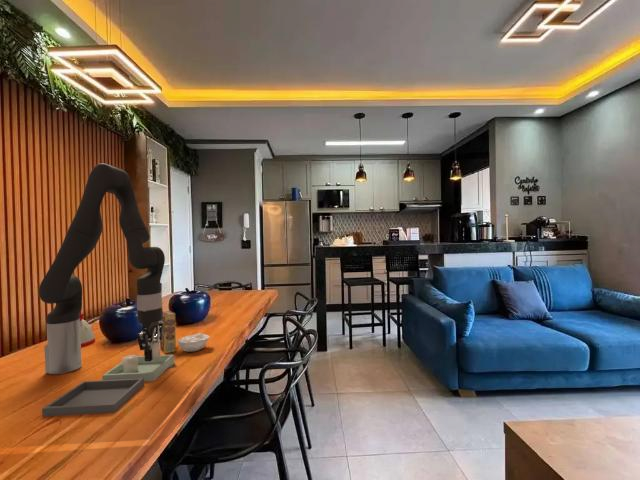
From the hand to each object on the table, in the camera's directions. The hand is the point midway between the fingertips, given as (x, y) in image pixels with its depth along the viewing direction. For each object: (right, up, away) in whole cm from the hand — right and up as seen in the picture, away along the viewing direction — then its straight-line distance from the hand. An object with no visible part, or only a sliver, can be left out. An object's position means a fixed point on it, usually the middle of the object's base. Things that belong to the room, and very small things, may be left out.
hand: (152, 357), depth 109 cm
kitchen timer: (-51, -7, +35) cm, 62 cm away
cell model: (+5, -5, +22) cm, 23 cm away
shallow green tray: (-4, -6, 0) cm, 7 cm away
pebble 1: (-7, -5, 0) cm, 8 cm away
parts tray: (-6, -6, -18) cm, 20 cm away
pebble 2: (0, 0, 0) cm, 0 cm away
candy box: (-6, -6, +24) cm, 25 cm away
